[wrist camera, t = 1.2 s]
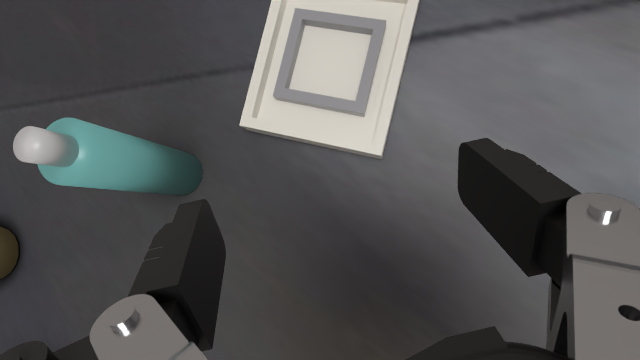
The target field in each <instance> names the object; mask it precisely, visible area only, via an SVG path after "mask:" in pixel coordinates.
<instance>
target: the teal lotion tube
mask: <svg viewBox="0 0 640 360" xmlns="http://www.w3.org/2000/svg"><path fill="white" fill-rule="evenodd" d="M13 150H14V153H15V156H16V157H17V158H18V159H19V160H20V161H23V162H29V163H36V164H38V167H39V170H40V172H41V174H42V175H43V176H44V177H45V178H46V179H47V180H48V181H49V182H51V183H54V184H57V185H65V186H76V187H88V188H100V189H111V190H123V191H134V192H146V193H157V194H169V195H187V194H190V193H192V192H193V191H194V190H195V189H196V188H197V187H198V186H199V184H200V182H201V179H202V167H201V164H200V162H199V160H198V159H197V158H196V157H195V156H194V155H192V154H190V153H187V152H183V151H180V150H177V149H174V148H170V147H167V146H164V145H160V144H157V143H154V142H151V141H147V140H144V139H141V138H137V137H134V136H131V135H128V134H124V133H121V132H118V131H114V130H111V129H108V128H104V127H101V126H98V125H95V124H91V123H88V122H85V121H81V120H78V119H75V118H62V119H59V120H57V121H55V122H53V123H52V124H51V125H49V126H48V127H47V128H46V130H45V129H41V128H37V127H33V126H27V127H25V128H23V129H21V130H20V131H19V132H18V133H17V135H16V137H15V139H14V143H13Z"/></svg>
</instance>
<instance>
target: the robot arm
mask: <svg viewBox="0 0 640 360" xmlns="http://www.w3.org/2000/svg"><path fill="white" fill-rule="evenodd" d="M458 192H459V195H460V198H461V200H462V202H463V204H464V205H465V206H466V207H467V209H468V210H469V211H470V212H471V213H472V214H473V215H474V216H475V218H476V219H477V220H478V221H479V222H480V223H481V224H482V226H483V227H484V228H485V229H486V230H487V231H488V232H489V233H490V235H491V236H492V237H493V238H494V239H495V240H496V241H497V242H498V244H499V245H500V246H501V247H502V248H503V249H504V250H505V251H506V253H507V254H508V255H509V256H510V257H511V258H512V259H513V260H514V262H515V263H516V264H517V265H518V266H519V267H520V268H521V269H522V271H523V272H524V273H525V274H526V275H527V276H528V277H530V276H534V275H539V274H543V273H547V274H548V275H549V276H550V277H551V279H550V284H549V296H548V320H547V342H546V349H543V348H540V347H536V346H532V345H527V344H522V343H514V342H505V341H504V340H503V338H502V337H501V335H500V334H499V332H498V331H497V329H496V328H495V326H493V327H489V328H485V329H481V330H476V331H472V332H468V333H464V334H459V335H455V336H451V337H447V338H445V339H443V340H441V341H439V342H438V343H436V344H434V345H432V346H430V347H428V348H427V349H425V350H423V351H421V352H419V353H417V354H415V355H414V356H412V357H410V358H408V359H406V360H640V209H639V208H638V207H637V206H636V205H634V204H633V203H631V202H629V201H627V200H625V199H622V198H619V197H616V196H612V195H608V194H601V193H585V194H581V193H580V192H578V191H577V190H575V189H574V188H572V187H571V186H569V185H568V184H566V183H565V182H563V181H562V180H561V179H559V178H558V177H556V176H555V175H553V174H552V173H550V172H547V170H546V169H544V168H543V167H541V166H540V165H536V163H535V162H534V161H532V160H531V159H529V158H528V157H526V156H525V155H523V154H520V153H517V152H514V151H511V150H508V149H506V150H504V149H503V148H501V147H500V146H498V145H497V144H496V143H494V142H493V141H491V140H490V139H488V138H483V139H478V140H474V141H469V142H465V143H462V144H461V145H460V147H459V159H458ZM225 259H226V250H225V244H224V240H223V237H222V235H221V232H220V230H219V227H218V225H217V222H216V220H215V217H214V215H213V212H212V210H211V207H210V205H209V203H208V202H207V200H205V199H203V200H198V201H194V202H189V203H185V204H181V205H179V207H178V210H177V212H176V215H175V217H174V220H173V223H168V224H165V225H164V226H163V228H162V229H161V230H160V231H159V232H158V233H157V234H156V235H155V236H154V238H153V240H152V243H151V245H150V247H149V251H148V252H147V254H146V256H145V258H144V260H145V262H143V263H142V265H141V268H140V270H139V272H138V274H137V277H136V279H135V281H134V283H133V286H132V288H131V290H130V293H129V295H128V297H127V298H124V299H122V300H120V301H118V302H117V303H115V304H113V305H112V306H111V307H109V308H108V309H107V310H106V311H104V312H103V313H102V314H101V315H100V317H99V318H98V319H97V320H96V322H95V323H94V325H93V327H92V329H91V332H90V335H89V336H87V337H85V338H83V339H81V340H79V341H77V342H75V343H73V344H71V345H68V346H66V347H64V348H62V349H60V350H58V351H56V352H54V353H53V352H52V351H51V350H50V349H49V348H48V347H47V346H46V345H45V344H44V343H43V342H39V341H31V342H26V343H23V344H20V345H18V346H16V347H14V348H12V349H10V350H8V351H6V352H5V353H3V354H1V355H0V360H207V358H206V357H205V356H204V355H203V353H202V352H201V351H206V350H210V349H212V347H213V340H214V334H215V327H216V320H217V313H218V306H219V300H220V293H221V286H222V279H223V272H224V266H225Z"/></svg>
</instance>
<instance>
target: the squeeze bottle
mask: <svg viewBox="0 0 640 360" xmlns="http://www.w3.org/2000/svg"><path fill="white" fill-rule="evenodd" d="M18 255H19V252H18V243H17V240H16V238H15V236H14V235H13V234H12V233H11V232H10V231H9V230H8V229H5V228H2V227H0V279H1V278H3V277H5V276H6V275H8V274H9V273H10V272H11V271H12V270H13V268H14V267H15V265H16V262H17V259H18Z"/></svg>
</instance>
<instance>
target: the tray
mask: <svg viewBox="0 0 640 360" xmlns="http://www.w3.org/2000/svg"><path fill="white" fill-rule="evenodd" d="M419 3H420V0H272V1H271V5H270V9H269V13H268V17H267V21H266V25H265V28H264V32H263V36H262V40H261V44H260V48H259V52H258V55H257V59H256V63H255V67H254V71H253V75H252V78H251V82H250V86H249V90H248V94H247V98H246V102H245V105H244V109H243V113H242V117H241V121H240V126H241V127H243V128H245V129H246V130H248V131H253V132H257V133H262V134H267V135H271V136H276V137H281V138H285V139H290V140H294V141H299V142H304V143H308V144H313V145H317V146H322V147H327V148H331V149H336V150H340V151H345V152H350V153H354V154H359V155H363V156H368V157H373V158H377V159H382V157H383V153H384V149H385V145H386V141H387V136H388V132H389V128H390V124H391V120H392V116H393V111H394V107H395V103H396V99H397V95H398V90H399V86H400V82H401V78H402V74H403V70H404V65H405V61H406V57H407V53H408V49H409V45H410V40H411V36H412V32H413V28H414V24H415V19H416V15H417V11H418V7H419Z"/></svg>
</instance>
